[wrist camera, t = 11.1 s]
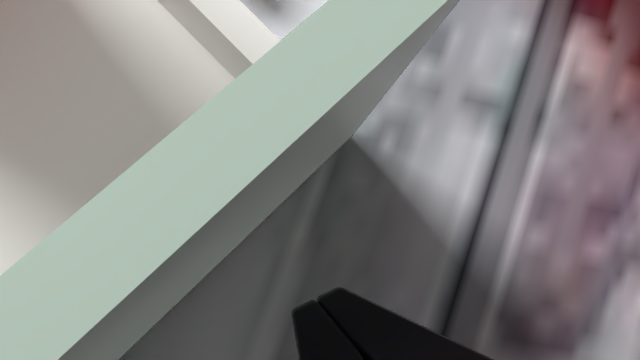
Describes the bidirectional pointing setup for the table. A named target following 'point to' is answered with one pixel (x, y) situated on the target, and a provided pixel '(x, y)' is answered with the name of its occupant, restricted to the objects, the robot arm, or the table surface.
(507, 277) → the table surface
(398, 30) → the tray
